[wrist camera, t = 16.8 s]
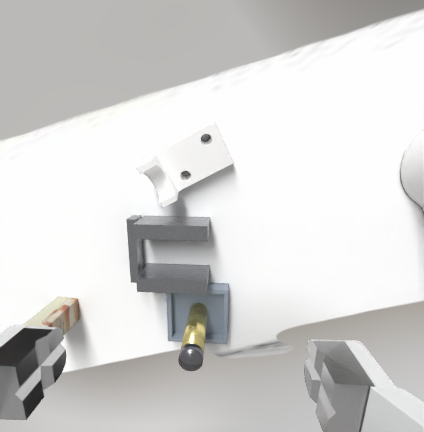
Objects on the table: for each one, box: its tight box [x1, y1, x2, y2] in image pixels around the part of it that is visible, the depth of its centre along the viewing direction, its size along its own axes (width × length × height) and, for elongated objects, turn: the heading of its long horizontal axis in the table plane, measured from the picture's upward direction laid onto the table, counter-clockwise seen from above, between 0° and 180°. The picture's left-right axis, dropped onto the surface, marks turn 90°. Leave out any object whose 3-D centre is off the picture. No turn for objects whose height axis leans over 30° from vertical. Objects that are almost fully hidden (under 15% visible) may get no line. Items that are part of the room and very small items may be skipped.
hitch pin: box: [179, 303, 208, 371], centre depth 41 cm, size 4×4×12 cm
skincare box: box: [23, 297, 79, 336], centre depth 44 cm, size 5×4×10 cm
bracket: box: [136, 120, 234, 207], centre depth 37 cm, size 13×7×8 cm, turn 117°
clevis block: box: [127, 215, 210, 294], centre depth 42 cm, size 14×12×6 cm
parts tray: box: [167, 283, 229, 344], centre depth 46 cm, size 12×12×2 cm
